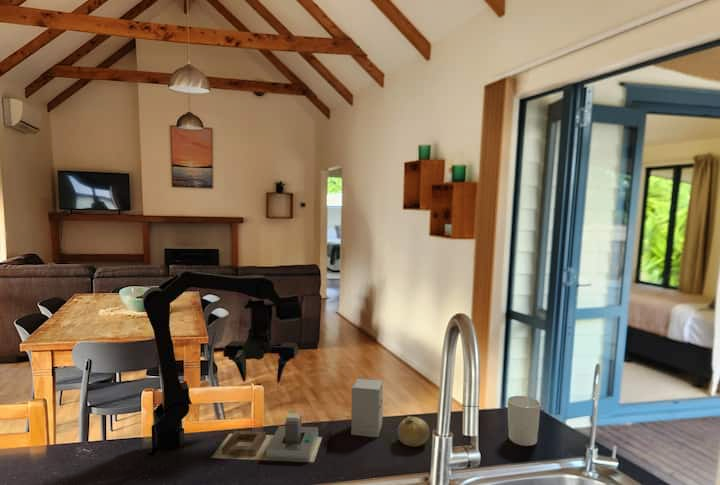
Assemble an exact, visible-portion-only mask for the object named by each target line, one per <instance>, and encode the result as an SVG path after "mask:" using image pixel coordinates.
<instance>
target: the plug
mask: <svg viewBox="0 0 720 485" xmlns="http://www.w3.org/2000/svg"><path fill="white" fill-rule="evenodd" d="M285 419H286V420H285V423H284V424H285V425H284V426H285V444H301V427H302V414H301V413H298V412H297V413H296V412H295V413H292V412H288V413H287V415H286V417H285Z"/></svg>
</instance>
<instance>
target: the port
mask: <svg viewBox="0 0 720 485" xmlns="http://www.w3.org/2000/svg"><path fill="white" fill-rule="evenodd" d="M273 435H274V436H273V438H272V440H271V442H270V444H269V446H268V447H267V449H266V460H265V461H272V460H277V461H278V462H295V461H300V462H299V463H301V462H302V463H311V462H310V459H311V456H312V454H313V451H314V448H315V445H316V442H317V439H318V437H319V427H317V426H316V427H315V426H301V444H285V425H278V427H277V429H276V431H275V433H274V434H273ZM277 461H276V462H277Z"/></svg>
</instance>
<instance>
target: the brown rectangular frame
mask: <svg viewBox="0 0 720 485" xmlns="http://www.w3.org/2000/svg"><path fill="white" fill-rule="evenodd" d="M231 434H232V436H231V437H230V438H229V440H228V441H227V442H226V444H225V445H224V446H223V448H222V455H241V456H256V455H257V453H258V451H259V449H260V448H261V446H262V444H263V442H264V441H265V439H266V435H267V431H253V430H252V431H251V430H250V431H249V430H248V431H247V430H245V431H244V430H234V432H233V433H231ZM239 440H254V441H253V443H252V444H251V446H236V445H237V443H238V442H239Z"/></svg>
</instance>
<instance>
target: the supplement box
mask: <svg viewBox="0 0 720 485" xmlns="http://www.w3.org/2000/svg"><path fill="white" fill-rule="evenodd" d="M383 387H384V385H383V380H380V379H378V380H377V379H366V378H364V379H363V378H357V379H356V380H355V382H354V384H353V386H352V387H351V421H350V422H351V423H350V424H351V425H350V427H351V428H350V429H351V430H350V434H351V435H352V436H360V437H369V438H370V437H371V438H379V435H380V431H381V429H382V426H383Z"/></svg>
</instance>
